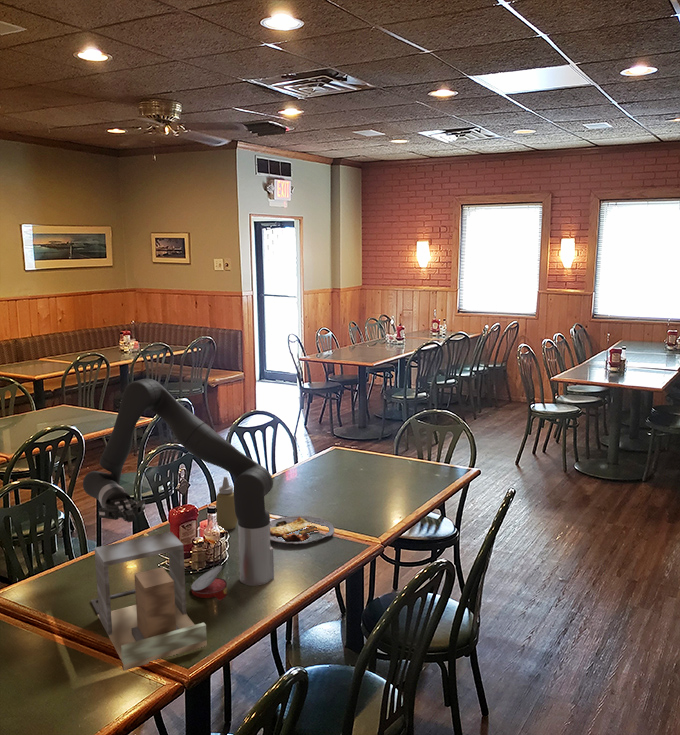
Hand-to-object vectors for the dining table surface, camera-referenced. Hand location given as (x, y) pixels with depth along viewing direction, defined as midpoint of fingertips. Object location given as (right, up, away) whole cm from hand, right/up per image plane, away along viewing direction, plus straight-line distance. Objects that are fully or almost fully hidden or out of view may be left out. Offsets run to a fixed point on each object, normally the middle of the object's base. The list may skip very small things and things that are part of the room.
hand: (130, 518), depth 189 cm
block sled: (+10, -27, -13) cm, 31 cm away
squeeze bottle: (+16, -16, +61) cm, 65 cm away
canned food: (+18, -24, +13) cm, 33 cm away
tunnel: (+5, -27, -4) cm, 27 cm away
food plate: (+40, -17, +55) cm, 71 cm away
